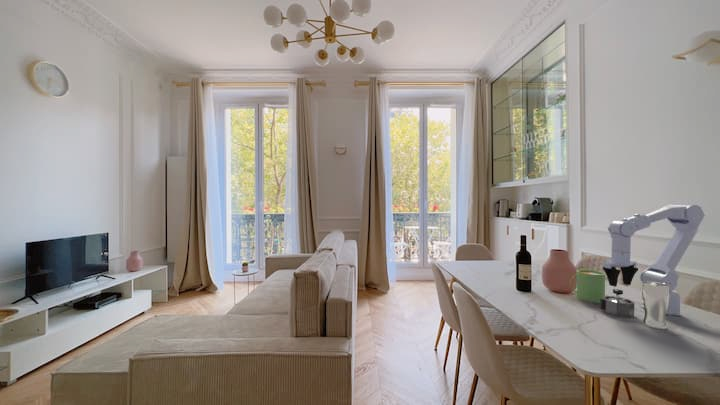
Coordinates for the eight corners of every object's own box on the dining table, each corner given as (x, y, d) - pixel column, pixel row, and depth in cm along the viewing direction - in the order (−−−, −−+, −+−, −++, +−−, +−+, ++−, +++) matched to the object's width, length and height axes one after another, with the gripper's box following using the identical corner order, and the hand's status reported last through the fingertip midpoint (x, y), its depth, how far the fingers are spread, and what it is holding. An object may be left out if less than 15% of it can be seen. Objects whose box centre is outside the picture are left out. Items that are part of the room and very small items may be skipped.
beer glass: (674, 330, 104) (674, 287, 104) (650, 329, 106) (651, 285, 106) (658, 322, 111) (659, 281, 111) (636, 320, 113) (637, 280, 112)
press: (626, 310, 123) (626, 297, 123) (637, 318, 115) (638, 305, 114) (596, 307, 126) (596, 294, 126) (605, 315, 118) (605, 301, 118)
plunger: (624, 300, 122) (624, 288, 122) (632, 306, 116) (633, 293, 116) (603, 298, 125) (603, 286, 124) (611, 304, 118) (611, 291, 118)
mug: (603, 297, 139) (603, 271, 139) (606, 304, 130) (606, 276, 130) (569, 292, 146) (569, 267, 146) (570, 298, 137) (570, 272, 137)
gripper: (623, 248, 128) (622, 281, 128) (596, 250, 124) (596, 283, 124) (642, 251, 121) (641, 286, 121) (615, 253, 117) (614, 288, 117)
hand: (619, 285), depth 122 cm, fingers open, 7 cm apart
